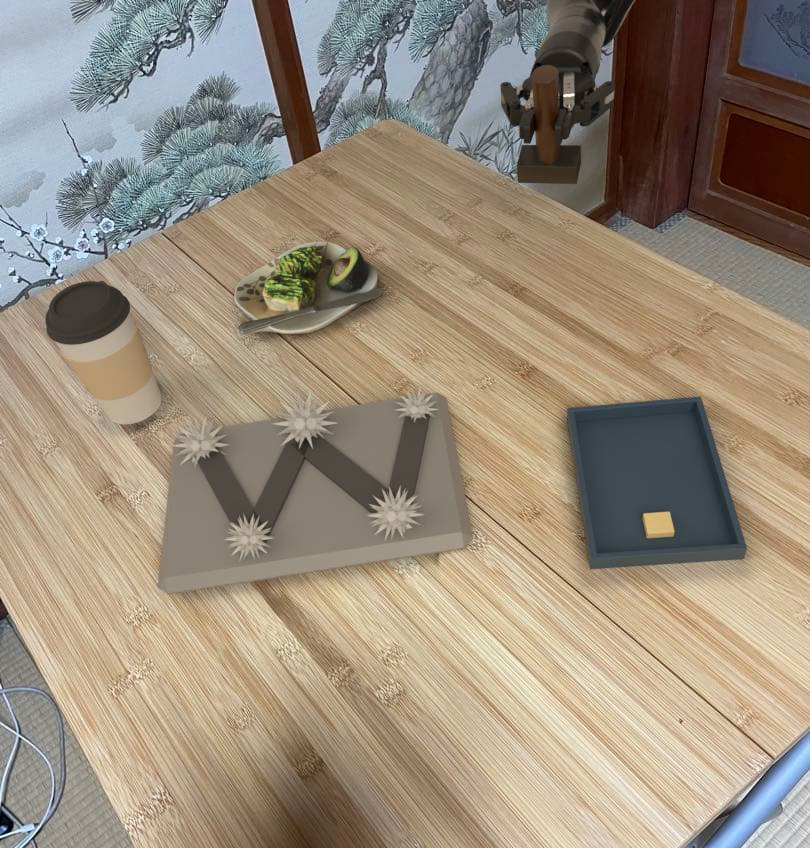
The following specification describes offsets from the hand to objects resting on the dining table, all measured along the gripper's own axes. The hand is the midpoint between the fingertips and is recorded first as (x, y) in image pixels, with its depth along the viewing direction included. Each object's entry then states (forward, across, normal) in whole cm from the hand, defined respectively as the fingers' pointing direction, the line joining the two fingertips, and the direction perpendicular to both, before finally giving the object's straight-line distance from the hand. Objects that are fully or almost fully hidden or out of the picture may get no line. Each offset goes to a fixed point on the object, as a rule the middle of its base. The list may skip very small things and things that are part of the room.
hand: (542, 135), depth 91 cm
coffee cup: (+31, -43, +16) cm, 55 cm away
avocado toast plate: (+9, -28, +17) cm, 34 cm away
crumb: (+41, +18, +15) cm, 47 cm away
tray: (+35, +16, +16) cm, 42 cm away
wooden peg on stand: (-5, 0, +7) cm, 9 cm away
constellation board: (+41, -16, +16) cm, 47 cm away
